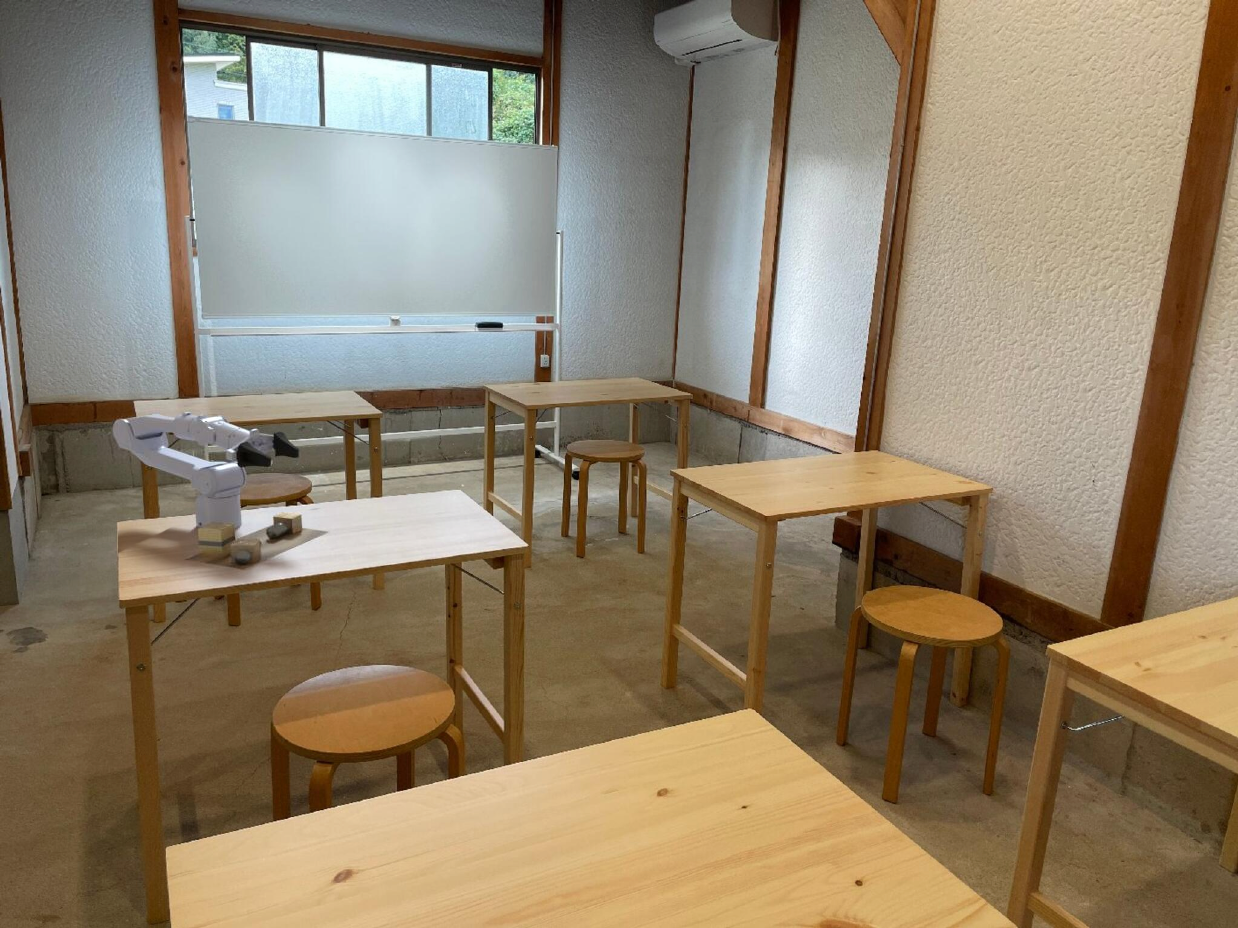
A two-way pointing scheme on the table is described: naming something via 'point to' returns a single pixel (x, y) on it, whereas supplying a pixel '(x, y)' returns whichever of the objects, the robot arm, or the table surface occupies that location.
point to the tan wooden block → (216, 539)
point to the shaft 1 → (245, 551)
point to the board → (265, 546)
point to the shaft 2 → (285, 525)
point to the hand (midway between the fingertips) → (283, 457)
